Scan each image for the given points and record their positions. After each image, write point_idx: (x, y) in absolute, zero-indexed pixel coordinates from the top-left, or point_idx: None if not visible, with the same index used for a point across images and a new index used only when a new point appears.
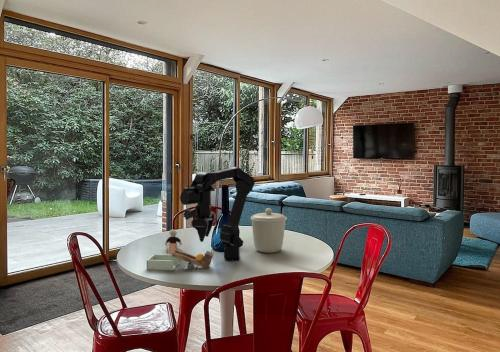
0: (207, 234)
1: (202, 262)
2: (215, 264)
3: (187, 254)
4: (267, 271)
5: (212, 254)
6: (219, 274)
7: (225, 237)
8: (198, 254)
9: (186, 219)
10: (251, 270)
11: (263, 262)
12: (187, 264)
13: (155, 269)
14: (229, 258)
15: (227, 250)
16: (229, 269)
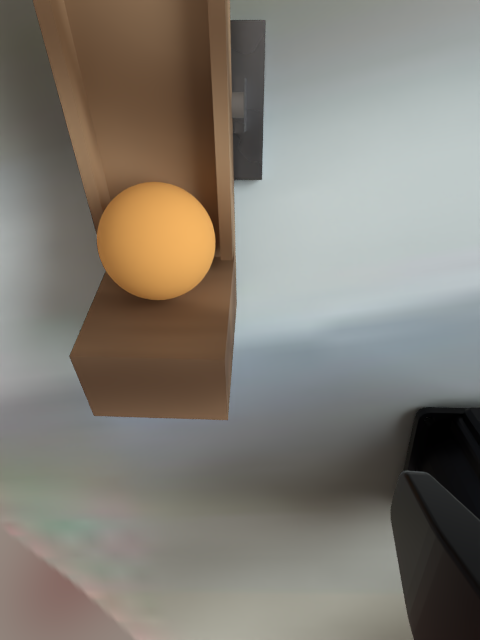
0: (404, 552)
1: (106, 274)
2: (300, 343)
3: (210, 17)
4: (170, 636)
5: (155, 414)
6: (39, 403)
7: None
8: (119, 242)
9: None
10: (174, 572)
11: (354, 626)
12: (248, 34)
13: None
14: (427, 454)
15: (477, 496)
16: (173, 456)
